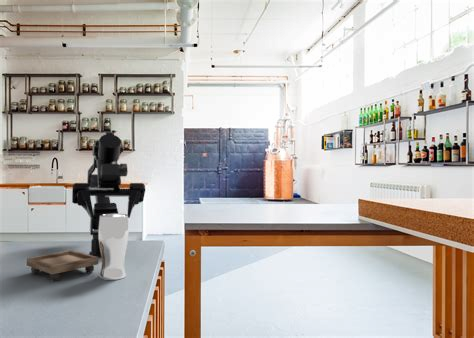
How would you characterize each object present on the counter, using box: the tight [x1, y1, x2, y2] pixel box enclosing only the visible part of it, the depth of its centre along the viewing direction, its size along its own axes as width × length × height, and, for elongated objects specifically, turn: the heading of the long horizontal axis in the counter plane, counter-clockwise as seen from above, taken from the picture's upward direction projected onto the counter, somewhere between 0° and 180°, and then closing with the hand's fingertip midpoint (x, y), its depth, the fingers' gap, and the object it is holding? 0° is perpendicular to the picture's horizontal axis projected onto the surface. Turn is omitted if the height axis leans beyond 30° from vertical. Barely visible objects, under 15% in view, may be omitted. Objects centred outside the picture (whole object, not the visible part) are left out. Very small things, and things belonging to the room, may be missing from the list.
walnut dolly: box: [26, 249, 99, 282], centre depth 99 cm, size 12×12×4 cm
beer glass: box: [98, 213, 129, 281], centre depth 96 cm, size 7×7×15 cm
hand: (111, 217), depth 103 cm, fingers open, 9 cm apart
